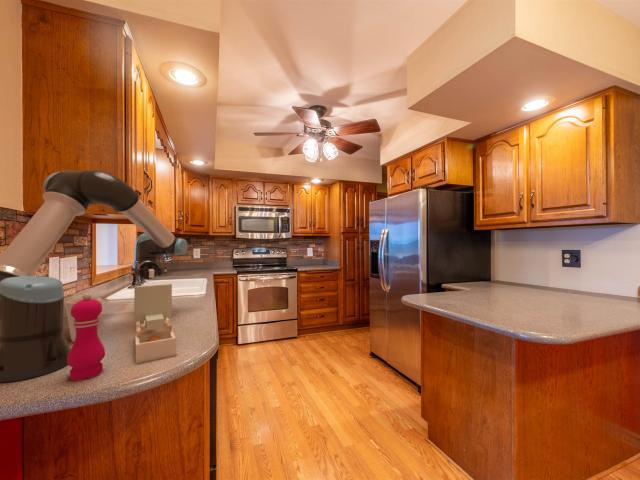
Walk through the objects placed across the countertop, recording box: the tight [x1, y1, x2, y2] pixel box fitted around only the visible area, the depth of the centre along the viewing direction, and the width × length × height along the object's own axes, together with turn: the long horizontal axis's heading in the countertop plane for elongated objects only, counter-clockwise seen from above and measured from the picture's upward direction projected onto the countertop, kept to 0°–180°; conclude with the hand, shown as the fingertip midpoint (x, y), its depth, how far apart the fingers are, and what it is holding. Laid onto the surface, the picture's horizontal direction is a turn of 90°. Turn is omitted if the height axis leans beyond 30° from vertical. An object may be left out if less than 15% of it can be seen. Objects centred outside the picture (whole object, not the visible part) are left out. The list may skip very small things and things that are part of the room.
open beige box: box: [134, 329, 177, 365], centre depth 82 cm, size 10×10×5 cm
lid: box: [133, 283, 173, 330], centre depth 85 cm, size 10×8×12 cm
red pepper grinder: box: [64, 297, 103, 343], centre depth 96 cm, size 10×9×13 cm
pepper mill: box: [67, 292, 106, 381], centre depth 70 cm, size 7×7×20 cm
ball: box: [148, 336, 162, 342], centre depth 84 cm, size 4×4×4 cm
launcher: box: [135, 318, 173, 336], centre depth 91 cm, size 9×17×8 cm, turn 34°
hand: (151, 274), depth 103 cm, fingers closed
